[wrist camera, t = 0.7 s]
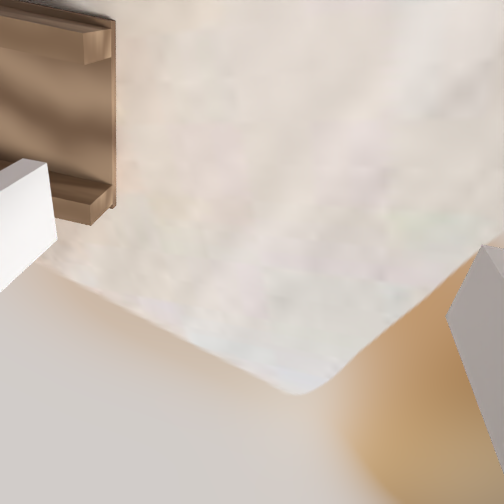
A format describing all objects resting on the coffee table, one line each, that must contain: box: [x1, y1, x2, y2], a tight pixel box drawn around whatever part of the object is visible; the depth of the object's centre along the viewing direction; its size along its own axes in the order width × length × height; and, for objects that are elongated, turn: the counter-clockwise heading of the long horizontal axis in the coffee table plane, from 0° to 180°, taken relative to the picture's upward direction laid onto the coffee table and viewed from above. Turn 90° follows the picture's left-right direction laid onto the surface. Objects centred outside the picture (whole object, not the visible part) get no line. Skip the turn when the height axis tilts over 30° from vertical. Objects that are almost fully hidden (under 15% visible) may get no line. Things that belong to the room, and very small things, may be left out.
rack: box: [0, 0, 116, 226], centre depth 35 cm, size 16×12×5 cm
